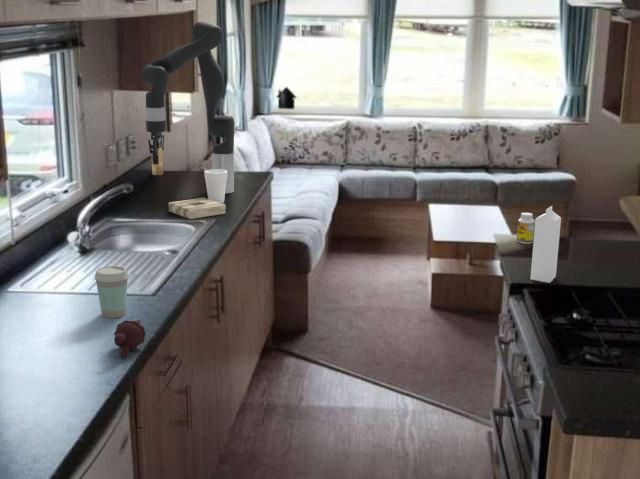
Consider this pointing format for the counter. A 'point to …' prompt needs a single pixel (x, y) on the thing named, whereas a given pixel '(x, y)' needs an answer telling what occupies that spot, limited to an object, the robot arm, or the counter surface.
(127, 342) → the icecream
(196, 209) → the plate
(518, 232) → the supplement bottle
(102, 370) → the counter surface
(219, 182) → the foam cup
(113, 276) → the coffee cup
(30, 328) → the counter surface
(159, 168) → the brass cylinder
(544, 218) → the milk
